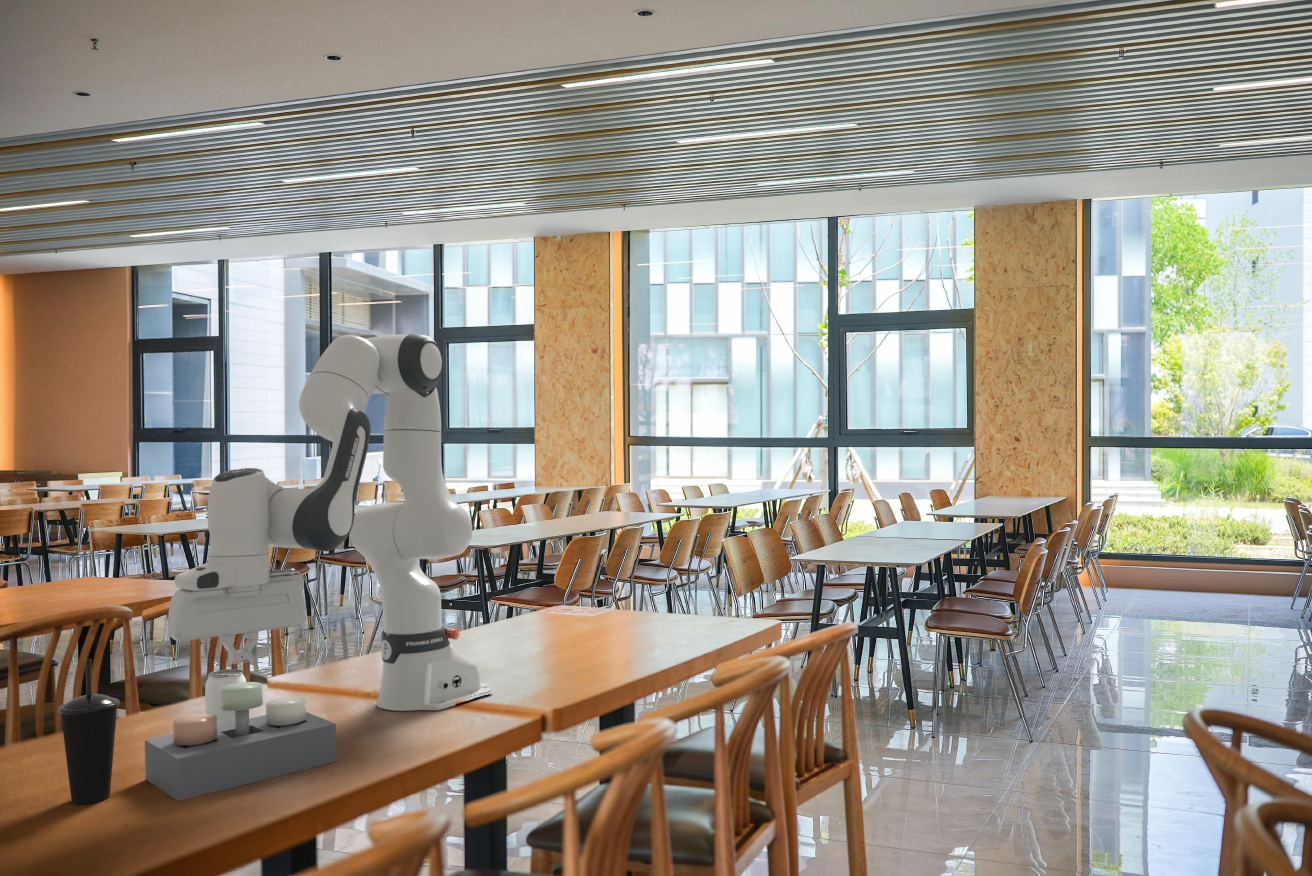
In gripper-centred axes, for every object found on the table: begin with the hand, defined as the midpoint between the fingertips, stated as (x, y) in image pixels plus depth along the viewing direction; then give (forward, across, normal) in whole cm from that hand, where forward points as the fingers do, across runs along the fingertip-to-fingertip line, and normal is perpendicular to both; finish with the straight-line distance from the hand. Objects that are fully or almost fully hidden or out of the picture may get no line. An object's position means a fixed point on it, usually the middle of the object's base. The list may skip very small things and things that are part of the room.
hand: (239, 662), depth 156 cm
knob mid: (+12, 0, 0) cm, 12 cm away
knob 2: (+16, -8, 0) cm, 18 cm away
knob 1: (+16, +6, 0) cm, 17 cm away
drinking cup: (+17, +20, -4) cm, 27 cm away
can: (+17, -4, -17) cm, 24 cm away
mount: (+17, 0, 0) cm, 17 cm away
